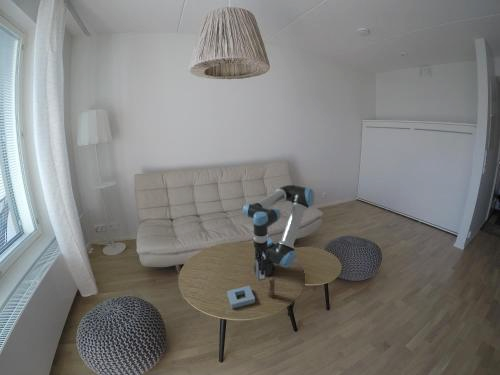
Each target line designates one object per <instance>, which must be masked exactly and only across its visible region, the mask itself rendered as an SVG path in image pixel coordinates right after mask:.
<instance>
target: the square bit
mask: <svg viewBox="0 0 500 375" xmlns="http://www.w3.org/2000/svg"><path fill="white" fill-rule="evenodd" d="M255 261H256V273H255V278H256V280H257V281H258V282H261V281H264V280H265V279H266V276H265V271H264V278H263V279H260V278H259V269H260V259H259V258H258V259H256V260H255Z"/></svg>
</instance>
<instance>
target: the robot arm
mask: <svg viewBox="0 0 500 375" xmlns="http://www.w3.org/2000/svg"><path fill="white" fill-rule="evenodd" d="M283 202H291V210H290V212H289V216H288V219H287V221H286V224H285V228H284V230H283V233H282V236H281V239H280V240H279V241H277V243H275V242H274V240H273V239H272V238H271V237H269V232H268V229H269V227H271V226H272V225H274V224H275V223H277V222H278V221H279V220H280V219H281V216H282V215H281V212H280V210H279V209H278V208H276V207H274V206H276V205H278V204H279V203H283ZM314 202H315V191H314V190H313V189H312V188H309V187H304V186H299V185H295V184H288V185H284V186H280V187H279V188H277V189H275V191H274V192H273V193H271V194H269V195H267V196H265V197H263V198H261V199H259V200H258V201H256V202H254V203H252V204H251V203H245V204H244V205H243V208H242V214H243V215H244V216H246V217H248V218H251V219H253V220H252V221H253V222H252V223H253V235H252V238H253V247H254V257H255V258H254V260H255V262H254V264H253V272H254V273H255V274H256V259H258V258H259V259H260V269H259V278H260V279H263V278H264V271H265V277H270V276H273V274H275V272H276V265H277V266H280V267H283V268H289V267H291V266H292V264H294V262H295V261H296V260H295V259H296V255H297V253H296V251H295V246H294V243H295V241H296V238H297V235H298V232H299V229H300V225H301V223H302V220H303V218H304V215H305V211H308V210H309V208H310V207H312V206H313V205H314Z"/></svg>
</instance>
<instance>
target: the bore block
mask: <svg viewBox="0 0 500 375" xmlns="http://www.w3.org/2000/svg"><path fill="white" fill-rule="evenodd" d="M226 292H227V298H228V301H229V305H230V308H231V310H233V309H236V308H240V307H243V306H248V305H251V304H255V303H256V297H255V295H254V292H253V291H252V289H251V286H250V285H247V286H243V287H238V288H233V289H230V290H227V291H226ZM242 295H244V296H245V297H242V298H239V299H238V298H237V297H239V296H242Z"/></svg>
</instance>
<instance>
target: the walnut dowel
mask: <svg viewBox="0 0 500 375" xmlns="http://www.w3.org/2000/svg"><path fill="white" fill-rule="evenodd" d="M275 282H276V281H275V278H274V277H273V276H272V277H270V276H269V277H268V282H267V283H268V287H267V288H268V290H267V292H268V293H267V296H268V298H270V299H273V298H275V284H276V283H275Z"/></svg>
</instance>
